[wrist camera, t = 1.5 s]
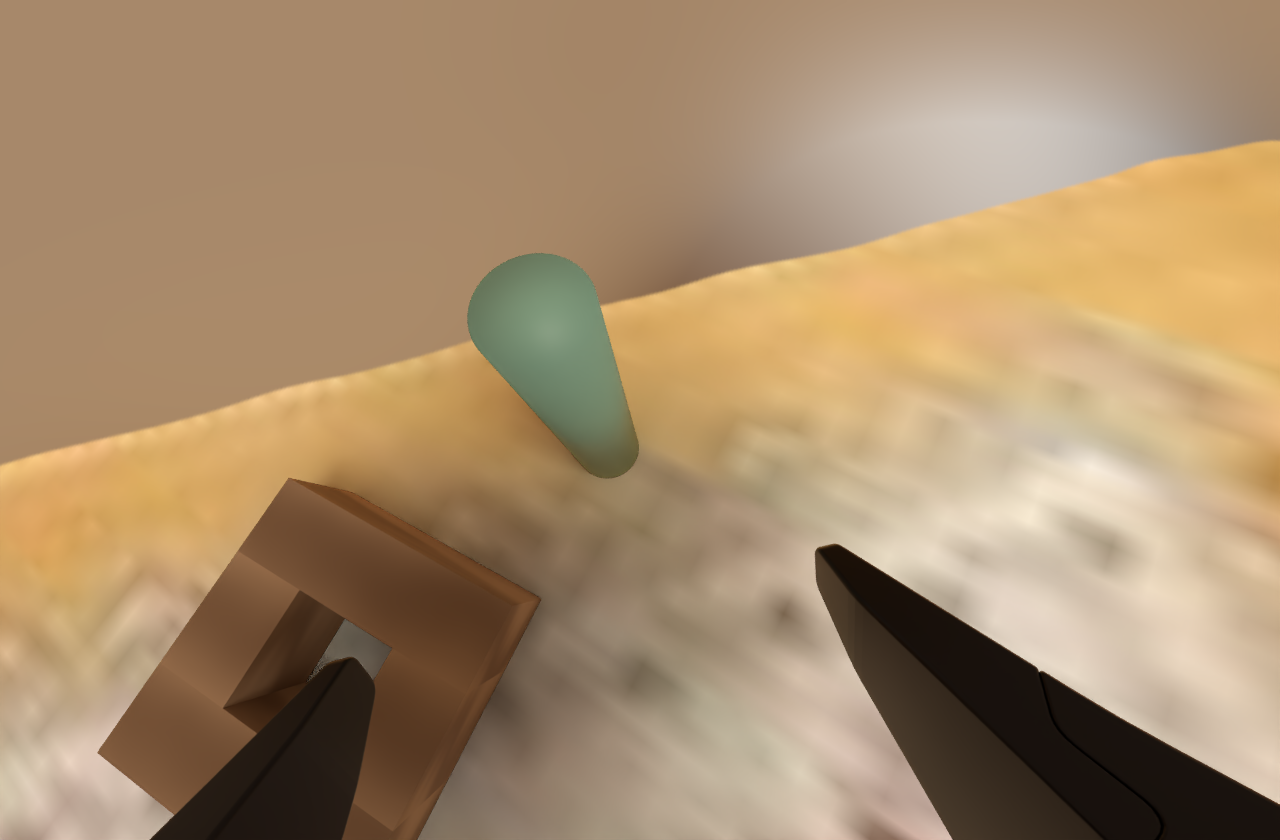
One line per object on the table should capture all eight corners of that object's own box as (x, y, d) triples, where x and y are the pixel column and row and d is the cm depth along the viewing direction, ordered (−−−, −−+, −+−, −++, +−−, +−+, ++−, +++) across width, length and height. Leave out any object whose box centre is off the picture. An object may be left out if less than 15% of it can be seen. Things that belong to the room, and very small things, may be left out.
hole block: (403, 865, 18) (333, 942, 15) (204, 718, 20) (97, 752, 17) (541, 598, 21) (512, 606, 17) (352, 492, 23) (288, 477, 19)
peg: (621, 488, 22) (557, 392, 10) (567, 462, 23) (442, 339, 10) (649, 433, 23) (621, 280, 11) (595, 409, 24) (510, 236, 11)
